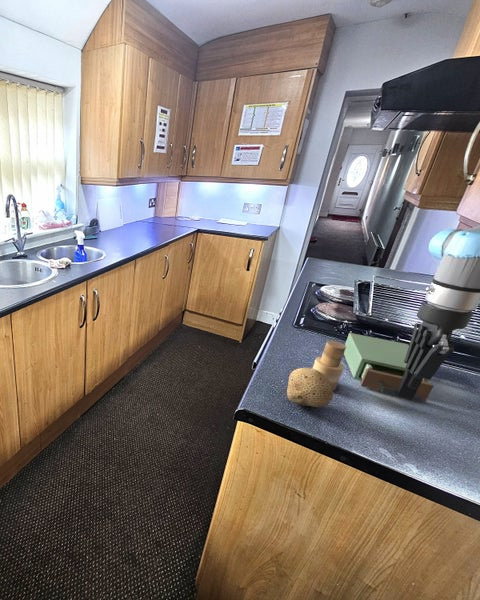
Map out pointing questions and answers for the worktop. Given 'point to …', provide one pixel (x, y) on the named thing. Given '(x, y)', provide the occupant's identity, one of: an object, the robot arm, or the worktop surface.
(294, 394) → the natural sponge
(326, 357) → the stepped wooden peg
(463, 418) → the worktop surface
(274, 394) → the worktop surface
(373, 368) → the drawer
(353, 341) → the cabinet
